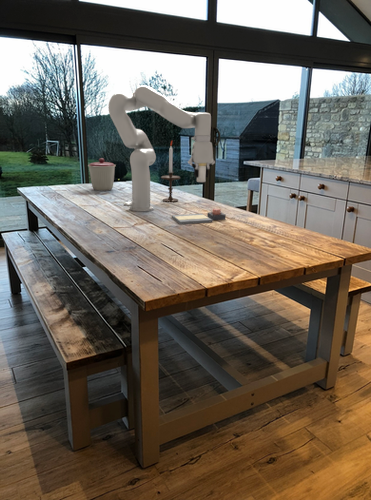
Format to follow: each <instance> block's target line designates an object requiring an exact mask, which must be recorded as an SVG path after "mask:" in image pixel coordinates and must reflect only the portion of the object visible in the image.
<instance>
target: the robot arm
mask: <svg viewBox="0 0 371 500" xmlns="http://www.w3.org/2000/svg"><path fill="white" fill-rule="evenodd" d="M144 107H145V108H148V109H150V110H152V111H153V112H155V113H157V114H158V115H159V116H161V117H162V118H164V119H165V120H167V121H168V122H170V123H172V124H173V125H176V126H177V127H180V128H181V129H192V128H194V135H193V136H192V137H191V139H192V140H194V142H193V143H192V146H191V157H190V158H189V159H188V161H187V164H188V165H190V166H191V167H192V169H194V170H193V176H194V177H195V178H196V179H197V178H198V173H199V170H198V165H199V163H206V178H208V176H209V170H210V168H212V166H213V165H214V164H216V160H214V159H215V158H214V154H213V153H214V152H213V149H214V148H213V143H212V142H211V130H212V129H211V127H212V116H211V113H209V112H191V111H185V110H183V109H181V108H180V107H178V106H176V105H175V104H173V103H172V102H171V100H170V98H168V97H167V96H165V95H162V94H161V93H160V92H157V91H156V89H154V88H153V87H151V86H148V85H139V86H138V87H136V89H135V91H133V92H130V93H128V92H122V91H121V92H116V93H114V94H113V95H112V96H111V98H110V99H109V102H108V113H109V116H110V119H111V120H112V123H113V125H114V126H115V128H116V130H117V132H118V135H119V136H120V138H121V140H122V142H123V144H124V146H125V147H126V148H129V149H134V150H133V151H132V152H131V154H130V157H129V162H130V169H131V191H132V194H131V200H130V201H128V202H123V207H129V210H130V211H133V212H150V211H154V207H153V206H152V205H151V173H150V167H149V166H152V165H153V164H154V163H155V162H156V159H157V156H156V153H155V150H154V147H153V145H152V144H151V142H150V140H149V138H148V136H147V134H146V133H145V132H144V131H143V130H142V129H140V128H136V126H135V125H134V124H133V121H132V119H131V117H130V116H129V115H128V114H127V111H128V112H131V111H136V110H139V109H141V108H144Z"/></svg>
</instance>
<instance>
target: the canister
mask: <svg viewBox="0 0 371 500" xmlns="http://www.w3.org/2000/svg"><path fill="white" fill-rule="evenodd" d="M116 165H117V164H114V163H113V162H108V161H105V159H104V158H103V157H101V158H99V159H98V161H96V162H91V163H89V164H88V165H87V167H88V169H89V170H88V171H89V174H90V175H89V176H90V181H91V187H92V189H93V190H95V191H100V192H104V191H111V190H112V189H113V188H114V187H113V186H114V180H115V169H116V168H115V167H116Z"/></svg>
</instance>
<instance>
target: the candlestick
mask: <svg viewBox="0 0 371 500" xmlns="http://www.w3.org/2000/svg"><path fill="white" fill-rule="evenodd" d="M172 145H173V140H171V141H170V147H169V151H168V157H169V158H168V160H169V161H168V171H167V173H168V175H162V176H161V177H160V178H161V179H162V180H167V181H168V182H169V187H168V194H169V196H168V197H167V198H163V199H162V202H164V203H169V202H173V203H178V202H179V199H178V198H173V189H174V188H173V187H172V185H173V183H172V182H173V181H175V180H180V179H181V176H179V175H173V174H174V173H175V172H174V171H173V150H174V148H173V147H172Z"/></svg>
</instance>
